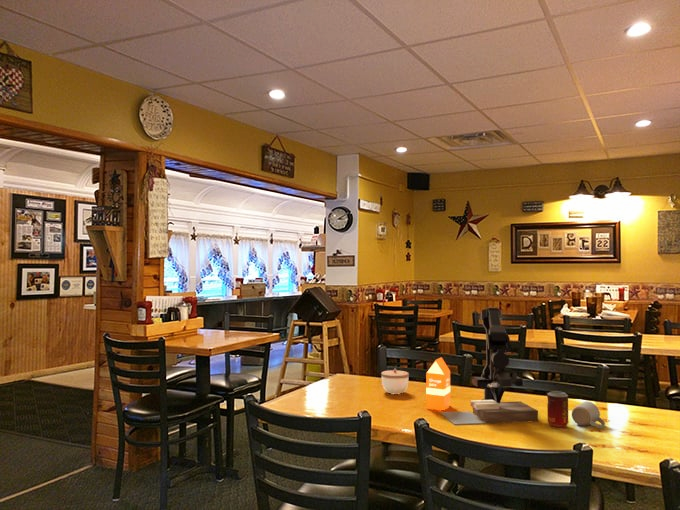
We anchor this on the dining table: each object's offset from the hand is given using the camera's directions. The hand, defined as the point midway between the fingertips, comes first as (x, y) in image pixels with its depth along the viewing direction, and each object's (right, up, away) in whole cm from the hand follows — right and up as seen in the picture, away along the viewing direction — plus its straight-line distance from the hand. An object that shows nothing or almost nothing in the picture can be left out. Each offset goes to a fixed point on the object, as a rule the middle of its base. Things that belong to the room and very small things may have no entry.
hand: (497, 404), depth 207 cm
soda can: (+18, -5, -12) cm, 22 cm away
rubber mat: (-14, -5, -2) cm, 15 cm away
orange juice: (-20, -6, +14) cm, 26 cm away
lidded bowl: (-36, -6, +40) cm, 54 cm away
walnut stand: (+3, -5, 0) cm, 6 cm away
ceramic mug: (+31, -5, -9) cm, 33 cm away
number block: (-5, -1, -1) cm, 5 cm away
